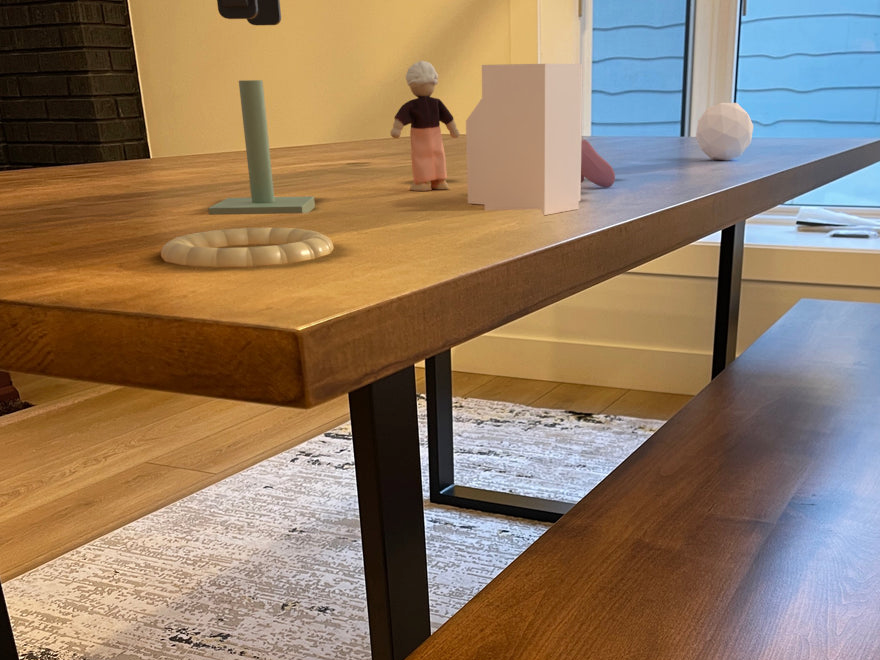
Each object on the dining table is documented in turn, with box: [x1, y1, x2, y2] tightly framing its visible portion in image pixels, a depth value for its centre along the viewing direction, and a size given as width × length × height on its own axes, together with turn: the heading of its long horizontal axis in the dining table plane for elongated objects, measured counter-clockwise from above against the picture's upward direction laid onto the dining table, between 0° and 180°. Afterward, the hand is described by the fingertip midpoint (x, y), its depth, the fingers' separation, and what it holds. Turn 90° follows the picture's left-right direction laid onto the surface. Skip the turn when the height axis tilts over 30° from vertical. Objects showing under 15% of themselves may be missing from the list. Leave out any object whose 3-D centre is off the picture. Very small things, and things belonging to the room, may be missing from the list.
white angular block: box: [465, 63, 584, 216], centre depth 91 cm, size 11×11×12 cm
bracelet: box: [160, 227, 334, 268], centre depth 64 cm, size 11×11×2 cm
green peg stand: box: [207, 79, 316, 216], centre depth 88 cm, size 8×8×11 cm
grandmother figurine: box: [390, 60, 460, 192], centre depth 105 cm, size 8×4×13 cm, turn 130°
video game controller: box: [581, 136, 616, 188], centre depth 109 cm, size 10×5×7 cm, turn 27°
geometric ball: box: [695, 102, 755, 161], centre depth 140 cm, size 8×8×8 cm
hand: (252, 22), depth 63 cm, fingers open, 8 cm apart
